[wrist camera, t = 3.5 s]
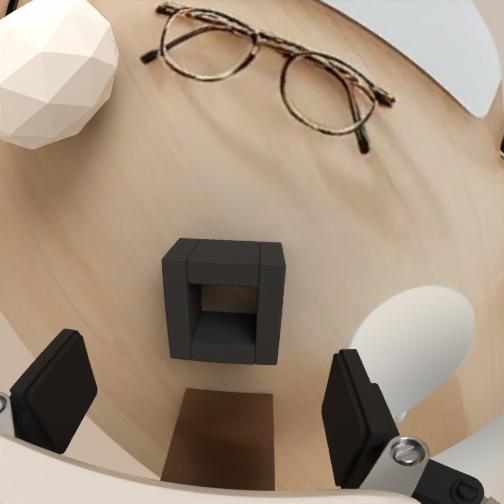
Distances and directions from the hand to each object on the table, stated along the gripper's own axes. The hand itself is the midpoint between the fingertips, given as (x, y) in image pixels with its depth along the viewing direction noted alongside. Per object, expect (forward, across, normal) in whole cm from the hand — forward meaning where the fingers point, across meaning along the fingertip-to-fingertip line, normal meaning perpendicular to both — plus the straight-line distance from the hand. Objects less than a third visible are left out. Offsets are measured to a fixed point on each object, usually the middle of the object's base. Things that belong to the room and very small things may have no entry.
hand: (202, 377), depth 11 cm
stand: (+8, 0, +11) cm, 13 cm away
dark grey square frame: (+8, 0, 0) cm, 8 cm away
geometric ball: (+8, +9, -12) cm, 17 cm away
